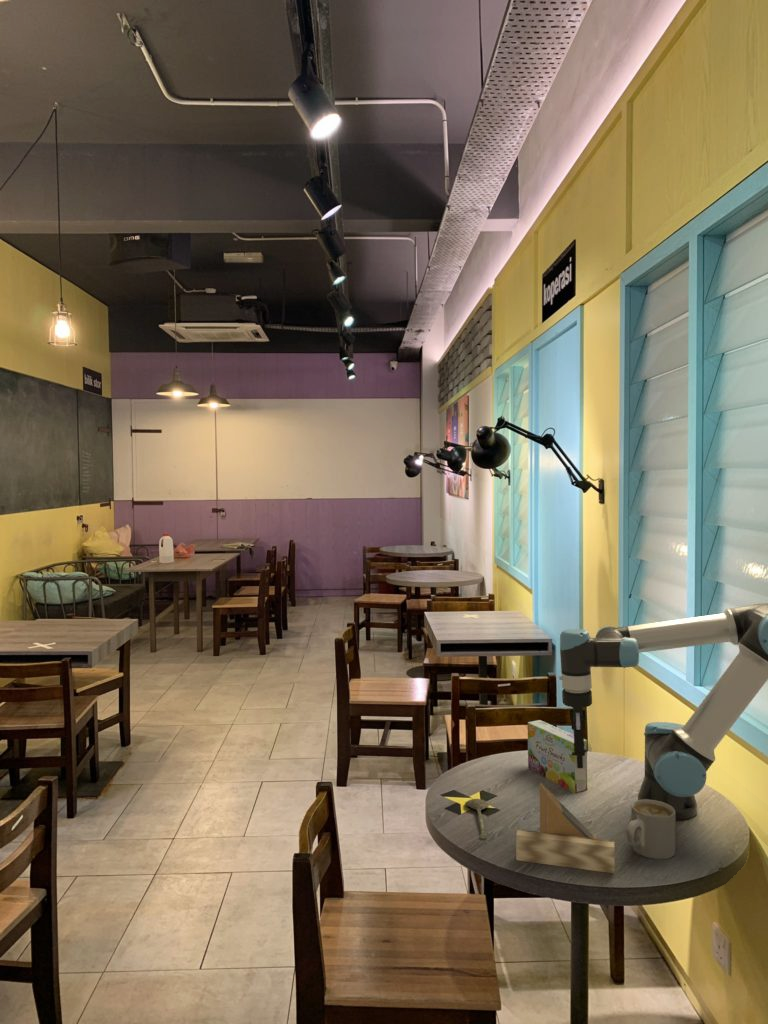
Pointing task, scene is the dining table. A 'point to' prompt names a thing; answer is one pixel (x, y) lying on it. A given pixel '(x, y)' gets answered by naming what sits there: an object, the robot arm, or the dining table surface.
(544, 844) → the birch board
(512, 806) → the dining table surface
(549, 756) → the snack box
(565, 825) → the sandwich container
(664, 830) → the coffee mug
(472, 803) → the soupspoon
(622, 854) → the dining table surface
